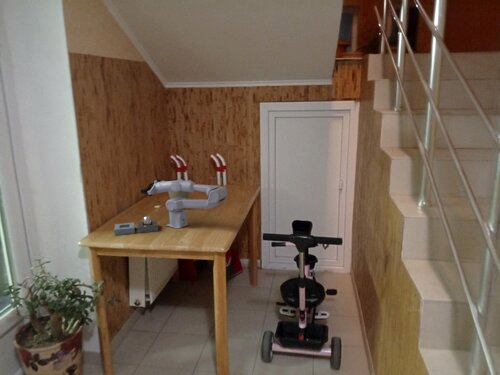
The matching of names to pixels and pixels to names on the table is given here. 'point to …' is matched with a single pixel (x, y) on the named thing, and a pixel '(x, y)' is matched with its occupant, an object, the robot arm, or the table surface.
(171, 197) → the plant pot
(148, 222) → the aluminium peg
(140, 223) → the charcoal stand
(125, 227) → the block
